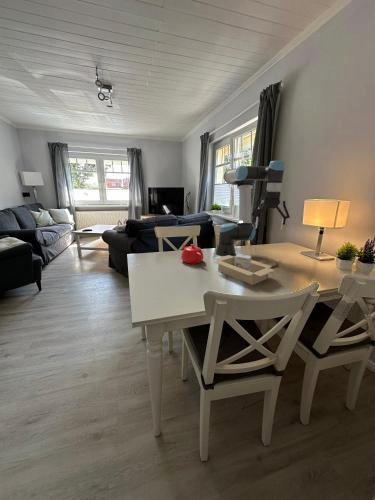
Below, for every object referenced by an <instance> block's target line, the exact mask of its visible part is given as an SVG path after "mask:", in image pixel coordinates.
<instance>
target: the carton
mask: <svg viewBox="0 0 375 500" xmlns="http://www.w3.org/2000/svg"><path fill="white" fill-rule="evenodd" d="M235 256H236V255H234V256H230V255H227V256H219V257H216V258H214V259H213V260H214V261H213V262H214V263H215V264H217V265H218V267H217V270H218V272H220V271H221V272H220V273H222V272H223V274H225V275H227V276H230V277H232V278H234V279H236V280H239V281H240V282H241V281H242V282H244V283H246V284H249V285H251V286H253V285H256V284H258V283H260V282H262V281H265V280H267V279H268V275H269V274H271V273H273V272H275V269H273V268H271V267H272V266H269V265H266V264H263V263H260V262H257V261H254V259H251V266H250V272H249V271H247V270H244V269H241V268H238V267H236V266H235ZM270 268H271V269H270Z"/></svg>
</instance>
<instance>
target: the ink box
mask: <svg viewBox="0 0 375 500" xmlns="http://www.w3.org/2000/svg"><path fill="white" fill-rule="evenodd" d="M234 256H235V266H236V267H238V268H241V269H244V270H247V271H249V272H250V266H251V260H252V256H251V255H248V254H242V253H237V254H235V255H234Z"/></svg>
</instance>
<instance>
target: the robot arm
mask: <svg viewBox="0 0 375 500" xmlns="http://www.w3.org/2000/svg"><path fill="white" fill-rule="evenodd" d="M285 165H286V164H285V161H284V160H272V161H270V162H269V165H268V166H258V165H255V166H254V165H252V166H250V165H238V166H237V167H236V168H230V169H227V170H226V171H224V173H223V180H224V182H225V183H227V184H229V185H233V186H234V185H235V186H236V187H237V189H238V191H239V192H238V194H239V195H238V214H239V215H238V221H237V223H236V224H235V223H231V222H229V223H222V224H220V226H219V231H218V232H219V233H218V244H217V247H216V249H215V254H216V255H218V256H219V257H223V256H227V255H230V256H233V257H234V256H236V248H235V242H237V241H238V242H247V241H253V239H254V237H255V235H256V229H258V222H259V215H260V214H261V213H262V212H264V210H265V209H266V208H267V209H276V210H277V211H278V213H279V214H280V216H281V217H282V218H281V224H280V231H283V227H284V226H285V225H286V220H287V219H289V218H291V216H290V213H289V211H288V209H287V205H286V200H281V193H282V192H281V191H282V185H283V178H284V172H285ZM257 181H264V182H265V181H266V182H267V183H266V192H265V198H264V200H263V199H259V200H258V204H257V205H256V206H255V208H254V210H253V212H252V211H251V210H252V209H251V207H252V205H251V204H252V203H251V201H252V197H251V195H252V191H251V190H252V189H253V188H254V185H255V184H256V182H257ZM262 204H264V206H263V207H262V208H261V209H260V210H259V211H258V209H259V208H260V207H261V205H262ZM279 205H281V206H283V210H284V212H285V214H284V212H283V211H282V210H281V208H280V206H279ZM257 211H258V212H257ZM251 212H252V213H251ZM256 212H257V213H256ZM251 216H252V217H254V219H253V222H254V223H255V225H254V224H253V222H252V221H251Z"/></svg>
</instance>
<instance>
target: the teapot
mask: <svg viewBox="0 0 375 500" xmlns="http://www.w3.org/2000/svg"><path fill="white" fill-rule="evenodd" d="M182 247H183V250H182V252H181V256H180V258H181V260H182V261H183V262H184V263H185V264H188V263H190V264H189V265H196V264H195V263H197V264H199V263H201V262H202V261H203V260H204V253H203V251H202V248H201V247H199V246H195V244H194V243H192V244H190V246H189V245H188V246H186V244H185V243H183V244H182Z"/></svg>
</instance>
